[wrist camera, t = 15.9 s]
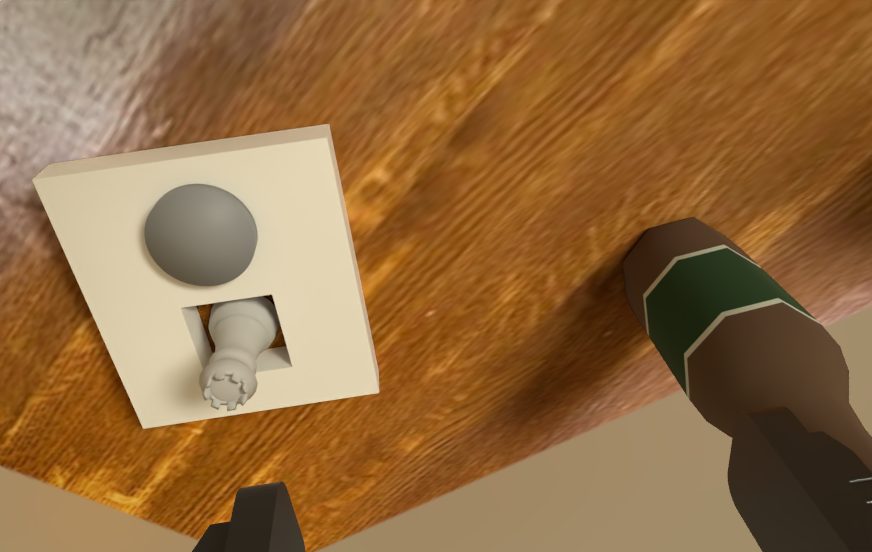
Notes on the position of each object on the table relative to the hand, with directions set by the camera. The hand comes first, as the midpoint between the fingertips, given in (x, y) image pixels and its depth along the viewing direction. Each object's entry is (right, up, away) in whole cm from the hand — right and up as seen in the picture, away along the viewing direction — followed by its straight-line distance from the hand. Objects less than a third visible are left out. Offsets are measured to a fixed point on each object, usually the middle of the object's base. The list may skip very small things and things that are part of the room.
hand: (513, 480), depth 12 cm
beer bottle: (+15, +4, +34) cm, 37 cm away
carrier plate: (-14, +3, +31) cm, 35 cm away
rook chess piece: (-14, +1, +33) cm, 36 cm away
